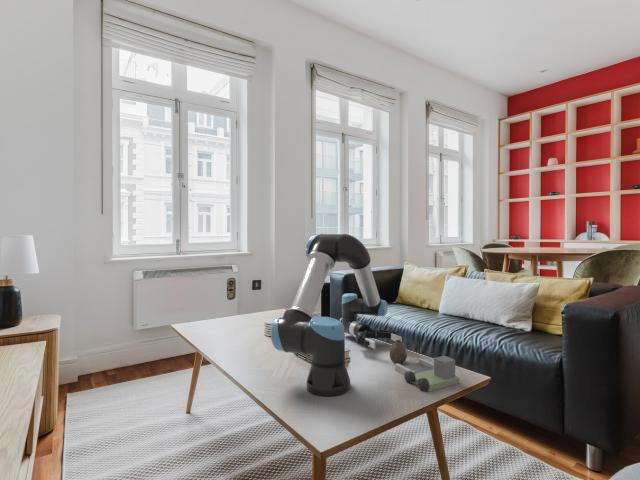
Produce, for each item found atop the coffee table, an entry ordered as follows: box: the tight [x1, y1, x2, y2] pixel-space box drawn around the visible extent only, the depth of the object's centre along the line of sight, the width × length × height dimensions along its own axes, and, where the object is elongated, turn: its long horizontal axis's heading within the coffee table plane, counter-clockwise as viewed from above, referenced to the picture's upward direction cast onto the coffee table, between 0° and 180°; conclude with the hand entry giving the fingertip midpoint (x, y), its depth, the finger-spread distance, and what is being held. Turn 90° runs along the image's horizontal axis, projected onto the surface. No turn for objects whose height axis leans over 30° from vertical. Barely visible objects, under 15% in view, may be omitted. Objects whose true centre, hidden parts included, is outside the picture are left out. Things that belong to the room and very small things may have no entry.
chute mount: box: [394, 357, 434, 376], centre depth 145 cm, size 10×13×2 cm
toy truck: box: [403, 355, 461, 392], centre depth 135 cm, size 11×16×8 cm
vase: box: [389, 340, 408, 365], centre depth 155 cm, size 7×7×9 cm
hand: (388, 342), depth 162 cm, fingers open, 13 cm apart
